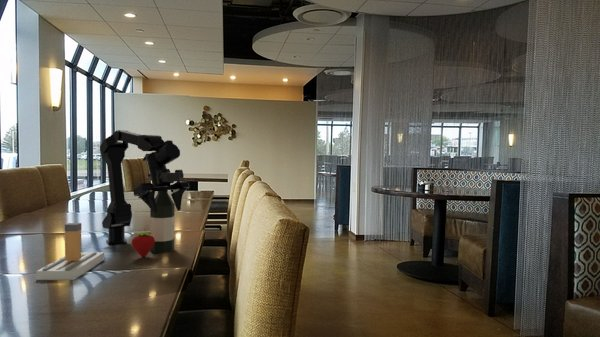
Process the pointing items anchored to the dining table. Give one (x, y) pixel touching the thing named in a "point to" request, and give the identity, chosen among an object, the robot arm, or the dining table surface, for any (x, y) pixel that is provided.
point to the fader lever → (72, 241)
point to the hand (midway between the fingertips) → (168, 212)
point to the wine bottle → (163, 223)
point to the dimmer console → (70, 267)
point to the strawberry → (143, 243)
